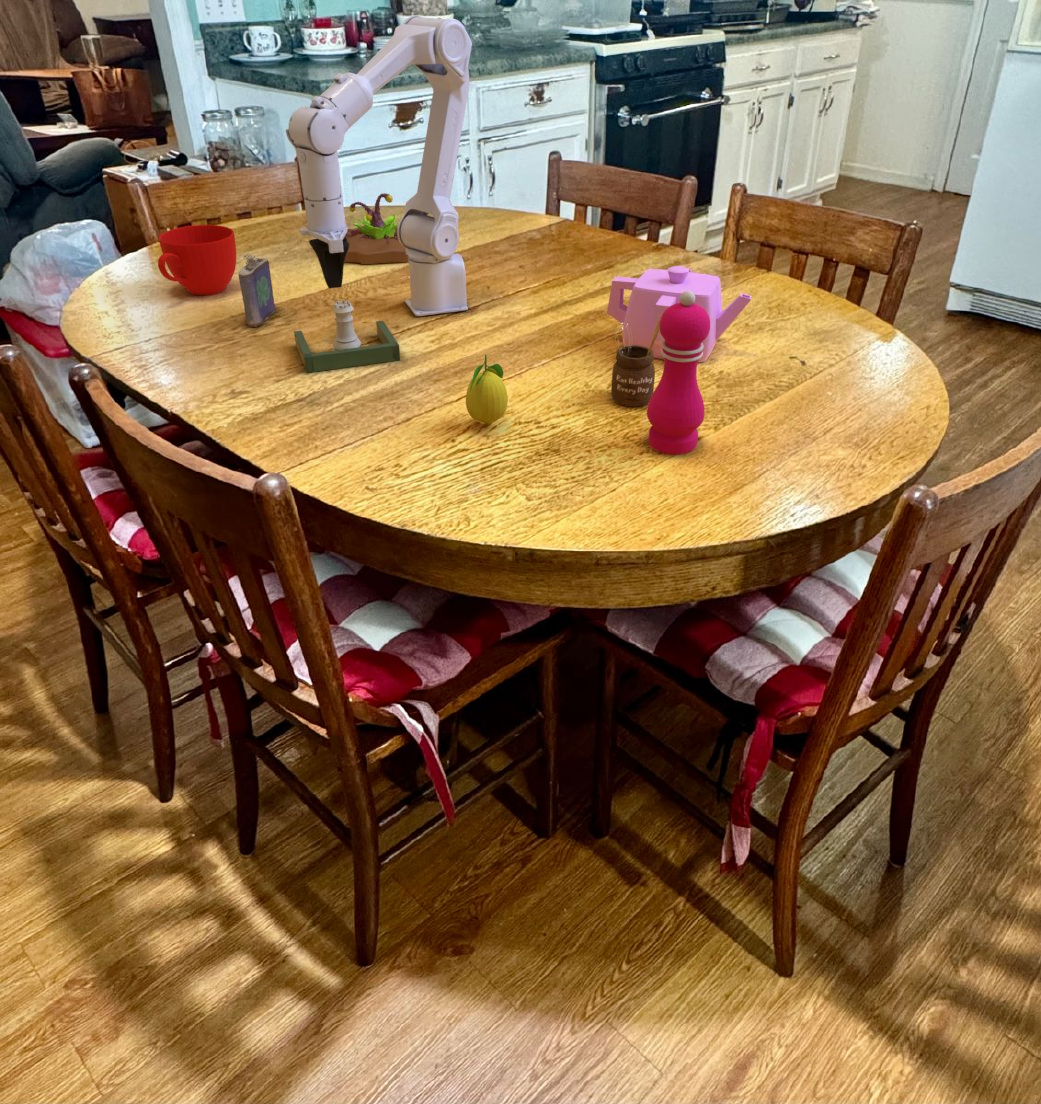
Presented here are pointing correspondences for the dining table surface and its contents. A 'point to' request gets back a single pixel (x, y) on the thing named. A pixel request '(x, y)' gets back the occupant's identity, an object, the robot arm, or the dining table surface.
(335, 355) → the bay
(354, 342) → the rook chess piece
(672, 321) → the pepper mill
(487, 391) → the lemon
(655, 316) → the teakettle
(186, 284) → the ceramic cup
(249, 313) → the flask
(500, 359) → the dining table surface
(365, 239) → the plant
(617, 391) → the utensil holder
